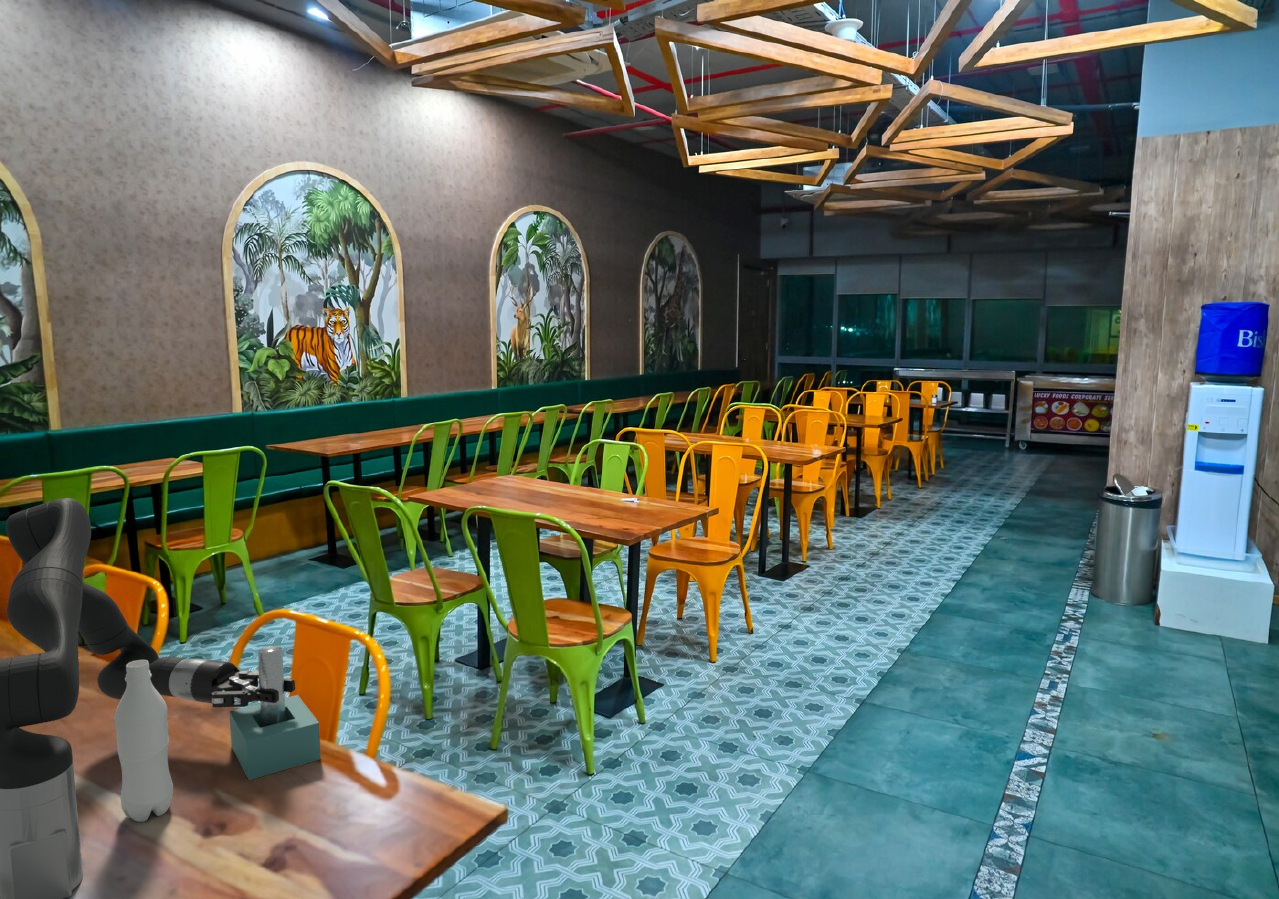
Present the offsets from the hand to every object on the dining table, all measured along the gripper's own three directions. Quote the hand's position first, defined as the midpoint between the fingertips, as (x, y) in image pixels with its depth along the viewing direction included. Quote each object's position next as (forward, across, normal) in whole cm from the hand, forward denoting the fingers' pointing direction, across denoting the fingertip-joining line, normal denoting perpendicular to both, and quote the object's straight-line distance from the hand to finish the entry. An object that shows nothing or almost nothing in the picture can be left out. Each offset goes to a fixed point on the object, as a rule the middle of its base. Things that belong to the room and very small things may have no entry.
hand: (285, 691), depth 148 cm
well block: (-3, 0, +12) cm, 12 cm away
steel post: (-3, 0, +10) cm, 11 cm away
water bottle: (-10, -21, +12) cm, 27 cm away
